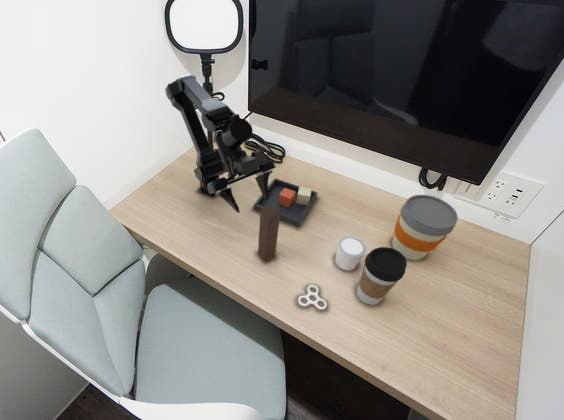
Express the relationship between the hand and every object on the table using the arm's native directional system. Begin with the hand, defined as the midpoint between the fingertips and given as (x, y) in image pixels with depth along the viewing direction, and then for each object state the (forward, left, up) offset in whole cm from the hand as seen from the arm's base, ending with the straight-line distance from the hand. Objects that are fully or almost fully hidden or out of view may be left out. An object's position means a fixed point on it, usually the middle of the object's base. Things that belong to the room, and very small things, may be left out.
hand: (253, 206), depth 84 cm
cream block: (+7, +22, -13) cm, 27 cm away
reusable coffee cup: (+41, +19, -14) cm, 47 cm away
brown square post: (+7, -4, -13) cm, 15 cm away
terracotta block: (+3, +19, -13) cm, 23 cm away
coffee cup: (+35, -2, -14) cm, 37 cm away
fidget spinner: (+23, -10, -13) cm, 28 cm away
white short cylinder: (+27, +5, -14) cm, 30 cm away
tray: (+3, +18, -13) cm, 23 cm away
